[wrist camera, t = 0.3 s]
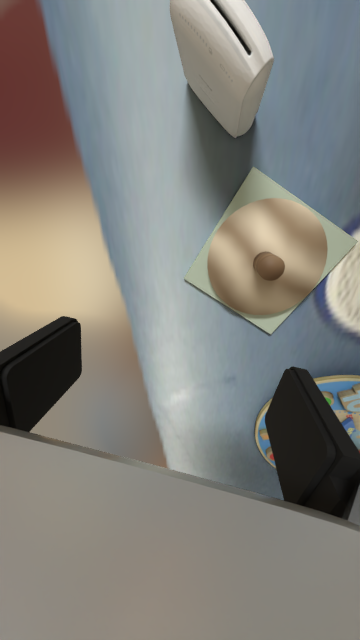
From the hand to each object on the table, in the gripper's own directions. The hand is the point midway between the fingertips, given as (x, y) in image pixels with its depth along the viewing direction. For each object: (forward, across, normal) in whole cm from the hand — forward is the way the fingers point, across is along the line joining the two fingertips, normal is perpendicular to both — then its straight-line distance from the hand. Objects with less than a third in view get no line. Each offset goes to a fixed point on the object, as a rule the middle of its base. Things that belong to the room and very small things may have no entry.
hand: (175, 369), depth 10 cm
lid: (+28, -9, -3) cm, 30 cm away
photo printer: (+29, +2, -21) cm, 36 cm away
